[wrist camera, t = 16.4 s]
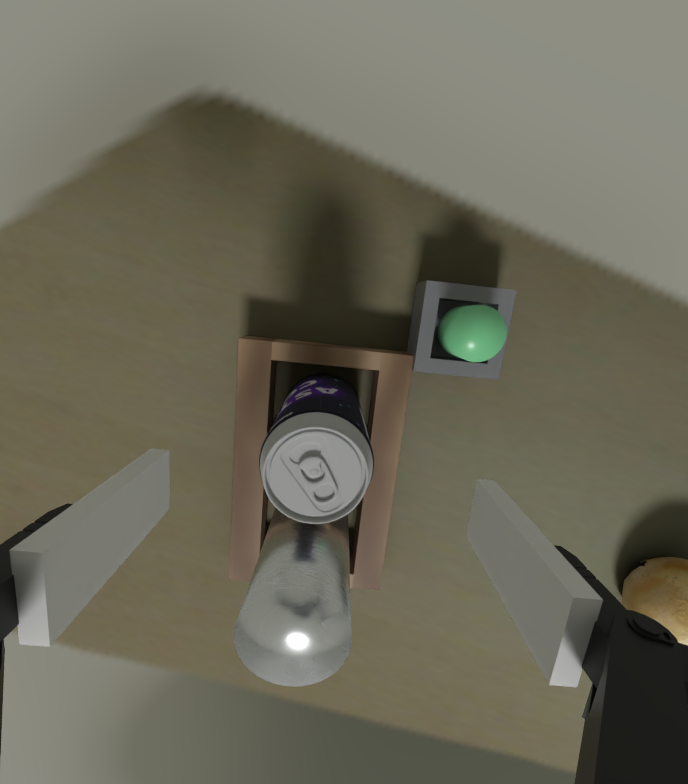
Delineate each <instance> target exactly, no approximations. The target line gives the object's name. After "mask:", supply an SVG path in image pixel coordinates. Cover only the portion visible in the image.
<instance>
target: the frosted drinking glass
mask: <svg viewBox="0 0 688 784" xmlns="http://www.w3.org/2000/svg"><path fill="white" fill-rule="evenodd" d="M351 641H352V637H351V598H350V560H349V522H348V514H347V515H345V516H344V517H342V518H340V519H337V520H335V521H332V522H328V523H322V524H309V523H303V522H299V521H296V520H294V519H292V518H289V517H287V516H286V515H284V514H283V513H281V512H280V511H279V510H278V509H277V508H275V511H274V514H273V517H272V520H271V523H270V525H269V528H268V531H267V534H266V537H265V540H264V543H263V546H262V549H261V552H260V555H259V558H258V561H257V564H256V567H255V570H254V573H253V576H252V578H251V581H250V584H249V587H248V590H247V593H246V596H245V599H244V602H243V605H242V608H241V611H240V614H239V617H238V620H237V623H236V626H235V630H234V643H235V648H236V651H237V653H238V655H239V657H240V659H241V660H242V662H243V663H244V665H245V666H246V667H247V668H248V669H249V670H250V671H252V672H253V673H254V674H255V675H257V676H258V677H260V678H262V679H264V680H266V681H269V682H271V683H274V684H278V685H283V686H305V685H311V684H314V683H317V682H320V681H322V680H324V679H326V678H328V677H330V676H331V675H333V674H334V673H335V672H336V671H337V670H338V669H339V668H340V667H341V666H342V665H343V664H344V662H345V660H346V659H347V657H348V655H349V652H350V648H351Z"/></svg>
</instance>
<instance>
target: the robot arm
mask: <svg viewBox="0 0 688 784" xmlns="http://www.w3.org/2000/svg"><path fill="white" fill-rule="evenodd" d="M168 510H169V450H162V449H149V450H148V451H147V452H145V453H144V454H142V455H141V456H140V457H138V458H137V459H135V460H134V461H133V462H131V463H130V464H129V465H127V466H126V467H124V468H123V469H122V470H120V471H119V472H117V473H116V474H115V475H113V476H112V477H110V478H109V479H108V480H106V481H105V482H103V483H102V484H101V485H99V486H98V487H97V488H95V489H94V490H92V491H91V492H90V493H88V494H87V495H85V496H84V497H83V498H81V499H80V500H78V501H77V502H76V503H74V504H65V505H63V506H61V507H58V508H56V509H54V510H51V511H49V512H47V513H46V514H45V515H43V516H42V517H40V518H39V519H37V520H36V521H35V522H34V523H31V524H30V525H28V526H27V527H25V528H24V529H23V531H20V532H18V533H17V534H15V535H14V536H12V537H11V538H9V539H8V540H6V541H5V542H4V543H2V544H1V545H0V752H1V728H2V704H3V678H4V654H5V648H4V640H3V639H4V638H5V637H6V636H7V635H8V634H9V633H10V632H11V631H12V630H13V629H14V628H15V627H16V626H17V625H18V634H19V642H20V643H19V644H21V645H35V646H47V647H50V646H51V645H52V644H53V643H54V642H55V640H56V639H57V638H58V637H59V636H60V635H61V634H62V632H63V631H64V630H65V629H66V628H67V627H68V625H69V624H70V623H71V622H72V621H73V620H74V619H75V617H76V616H77V615H78V614H79V613H80V612H81V611H82V609H83V608H84V607H85V606H86V605H87V604H88V602H89V601H90V600H91V599H92V598H93V597H94V596H95V594H96V593H97V592H98V591H99V590H100V589H101V587H102V586H103V585H104V584H105V583H106V582H107V581H108V579H109V578H110V577H111V576H112V575H113V574H114V573H115V571H116V570H117V569H118V568H119V567H120V566H121V564H122V563H123V562H124V561H125V560H126V559H127V558H128V556H129V555H130V554H131V553H132V552H133V551H134V550H135V548H136V547H137V546H138V545H139V544H140V543H141V541H142V540H143V539H144V538H145V537H146V536H147V535H148V533H149V532H150V531H151V530H152V529H153V528H154V527H155V525H156V524H157V523H158V522H159V521H160V520H161V518H162V517H163V516H164V515H165V514H166V513H167V512H168ZM466 537H467V539H468V540H469V542H470V544H471V546H472V548H473V549H474V551H475V553H476V555H477V557H478V558H479V560H480V562H481V564H482V566H483V567H484V569H485V571H486V573H487V575H488V576H489V578H490V580H491V582H492V584H493V585H494V587H495V589H496V591H497V593H498V594H499V596H500V598H501V600H502V601H503V603H504V605H505V607H506V609H507V610H508V612H509V614H510V616H511V618H512V619H513V621H514V623H515V625H516V627H517V628H518V630H519V632H520V634H521V636H522V637H523V639H524V641H525V643H526V645H527V646H528V648H529V650H530V652H531V654H532V655H533V657H534V659H535V661H536V663H537V664H538V666H539V668H540V670H541V671H542V673H543V675H544V677H545V679H546V680H547V682H548V684H549V685H556V686H569V687H577V685H578V682H579V679H580V675H581V672H582V669H584V671H585V672H586V674H587V675H588V677H589V678H590V680H591V681H592V683H593V684H592V687H591V690H590V693H589V697H588V700H587V703H586V706H585V709H584V713H583V716H582V717H583V718H585V723H584V730H583V736H582V742H581V748H580V754H579V760H578V766H577V772H576V779H575V784H688V645H685V644H681V643H678V640H677V639H676V637H675V636H674V635H673V634H672V633H671V632H670V631H669V630H668V629H667V628H665V627H664V626H663V625H661V624H660V623H659V622H657V621H655V620H654V619H652V618H650V617H648V616H646V615H644V614H641V613H639V612H636V611H633V610H627V609H626V608H625V607H624V606H623V605H622V604H621V603H620V602H619V601H618V600H617V599H616V598H615V597H614V596H613V595H612V594H611V593H610V592H609V591H608V590H607V589H606V587H605V586H604V585H603V584H602V583H601V582H600V581H599V580H597V579H596V577H595V576H594V575H593V574H592V573H591V572H590V571H589V570H587V568H586V567H585V566H584V565H583V563H582V562H581V561H580V560H579V559H578V558H577V557H576V556H574V555H573V554H571V553H570V552H568V551H567V550H566V549H564V548H563V547H561V546H554V545H553V544H552V543H551V542H550V541H549V540H548V539H547V538H546V537H545V535H544V534H543V533H542V532H541V531H540V530H539V529H538V528H537V527H536V526H535V524H534V523H533V522H532V521H531V520H530V519H529V518H528V517H527V516H526V515H525V513H524V512H523V511H522V510H521V509H520V508H519V507H518V506H517V505H516V504H515V502H514V501H513V500H512V499H511V498H510V497H509V496H508V495H507V494H506V493H505V491H504V490H503V489H502V488H501V487H500V486H499V485H498V484H497V483H496V482H495V481H494V480H483V479H477V482H476V487H475V492H474V497H473V502H472V507H471V512H470V517H469V522H468V527H467V533H466Z"/></svg>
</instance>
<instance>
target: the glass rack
mask: <svg viewBox="0 0 688 784" xmlns="http://www.w3.org/2000/svg"><path fill="white" fill-rule="evenodd" d="M413 359H414V356H413V355H412V354H410V353H408V352H405V351H395V350H385V349H375V348H365V347H355V346H345V345H336V344H326V343H316V342H306V341H296V340H286V339H276V338H267V337H257V336H244V337H241V338H239V344H238V369H237V395H236V420H235V445H234V470H233V496H232V521H231V546H230V571H229V580H241V581H251V578H252V576H253V573H254V570H255V567H256V564H257V561H258V558H259V555H260V552H261V549H262V546H263V543H264V540H265V533H266V517H267V501H268V496H267V494H266V491H265V489H264V485H263V481H262V478H261V475H260V469H259V456H260V451H261V447H262V445H263V442H264V440H265V438H266V436H267V434H268V432H269V431H270V429H271V427H272V422H273V406H274V390H275V375H276V360H278V361H288V362H298V363H308V364H318V365H329V366H339V367H349V368H359V369H369V370H375V373H374V381H373V389H372V397H371V405H370V413H369V421H368V429H367V432H368V436H369V439H370V443H371V447H372V450H373V455H374V472H373V476H372V479H371V482H370V484H369V486H368V488H367V490H366V491H365V494H364V496H363V498H362V499H361V501H360V502H359V504H358V510H357V518H356V526H355V534H354V542H353V550H352V554H349V560H350V588H359V589H374V590H380V584H381V577H382V571H383V564H384V557H385V550H386V543H387V537H388V530H389V523H390V516H391V509H392V502H393V496H394V489H395V482H396V475H397V468H398V461H399V455H400V448H401V441H402V434H403V427H404V421H405V414H406V407H407V400H408V393H409V386H410V380H411V373H412V366H413Z"/></svg>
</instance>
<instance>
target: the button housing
mask: <svg viewBox="0 0 688 784" xmlns="http://www.w3.org/2000/svg"><path fill="white" fill-rule="evenodd" d="M516 292H517V290H510V289H501V288H492V287H483V286H474V285H465V284H456V283H447V282H438V281H429V280H426V281H423V282H419V283H417V284H416V291H415V298H414V305H413V312H412V319H411V326H410V333H409V340H408V347H407V352H408V353H410V354H412V355H413V356H414V359H413V366H412V371H415V372H425V373H436V374H446V375H456V376H466V377H476V378H486V379H496V380H499V376H500V371H501V366H502V361H503V356H504V351H505V347H506V342H507V337H508V332H509V327H510V322H511V317H512V312H513V307H514V302H515V297H516ZM467 305H485V306H489V307H492V308H494V309H495V310H497V311H498V312H499V313H500V314H501V315H502V317H503V318H504V320H505V323H506V328H507V335H506V340H505V342H504V345H503V347H502V348H501V350H500V351H499V352H498V353H497V354H496V355H495V356H494V357H492V358H490V359H488V360H486V361H482V362H470V361H467V360H464V359H462V358H459V357H457V356H454V355H451V354H449V353H447V352H446V351H445V350H444V349H443V348H442V347H441V346H440V344H439V342H438V339H437V327H438V324H439V321H440V319H441V318H442V316H443V315H444V314H445V313H446V312H447V311H449V310H450V309H452V308H454V307H457V306H467Z"/></svg>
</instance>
